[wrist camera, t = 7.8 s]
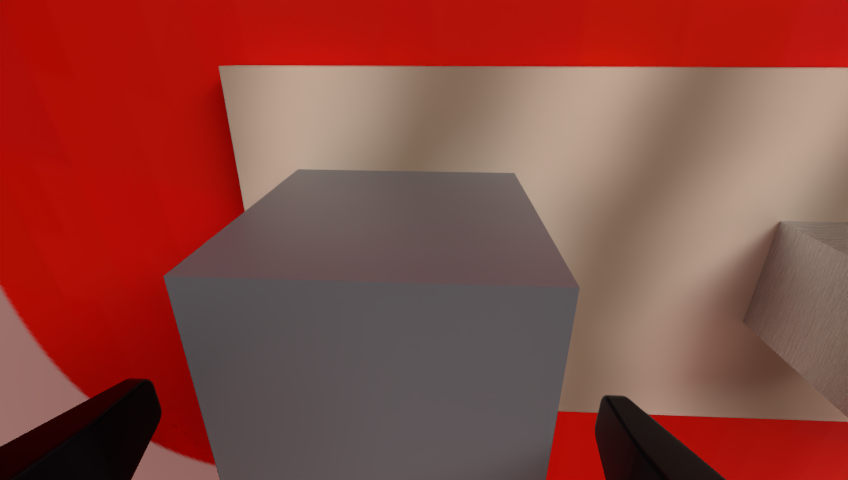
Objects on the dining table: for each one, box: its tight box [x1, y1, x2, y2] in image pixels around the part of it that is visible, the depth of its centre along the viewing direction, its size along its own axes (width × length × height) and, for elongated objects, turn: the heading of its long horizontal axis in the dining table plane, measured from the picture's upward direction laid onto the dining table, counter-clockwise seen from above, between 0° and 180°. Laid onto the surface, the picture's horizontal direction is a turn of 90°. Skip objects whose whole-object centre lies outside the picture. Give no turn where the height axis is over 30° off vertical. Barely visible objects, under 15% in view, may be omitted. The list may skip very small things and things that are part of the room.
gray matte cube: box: [164, 169, 580, 480], centre depth 11 cm, size 6×6×7 cm
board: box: [219, 65, 848, 422], centre depth 14 cm, size 24×12×1 cm, turn 90°
